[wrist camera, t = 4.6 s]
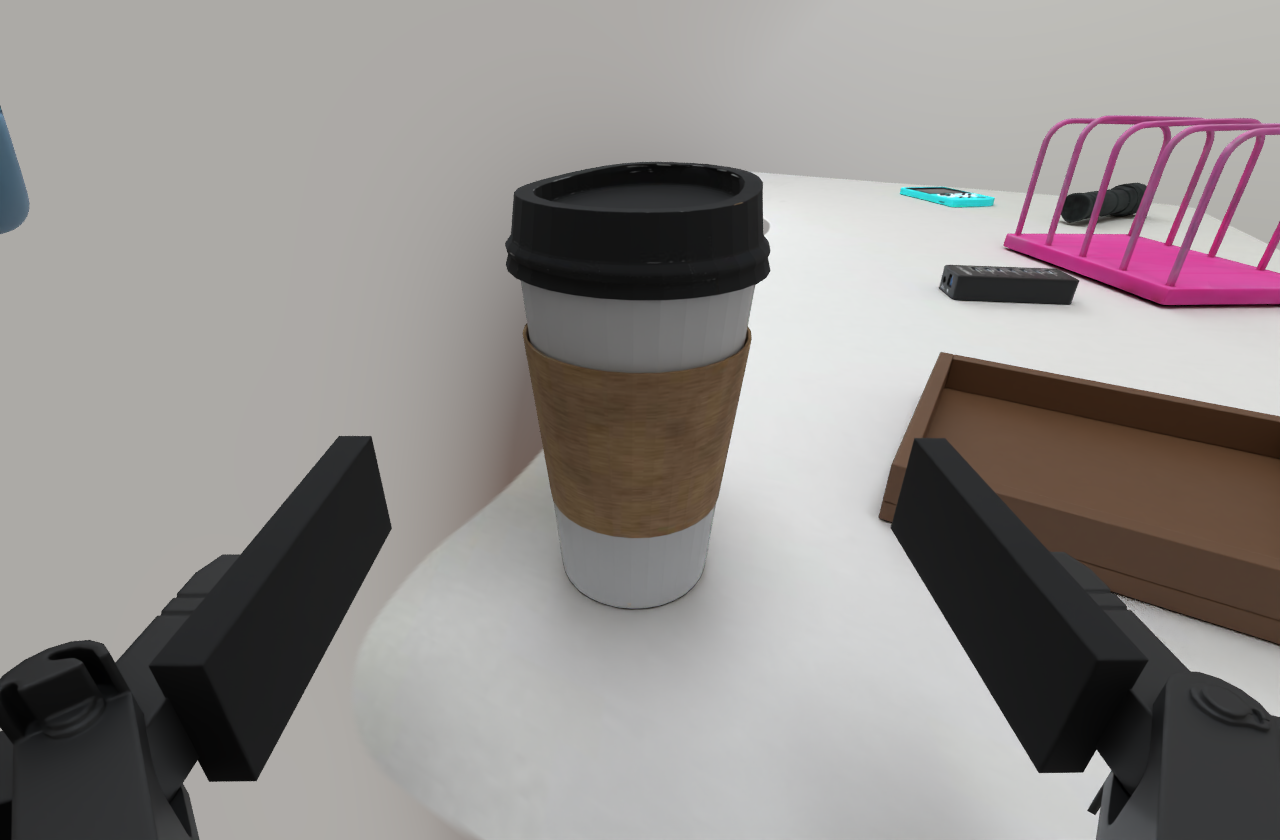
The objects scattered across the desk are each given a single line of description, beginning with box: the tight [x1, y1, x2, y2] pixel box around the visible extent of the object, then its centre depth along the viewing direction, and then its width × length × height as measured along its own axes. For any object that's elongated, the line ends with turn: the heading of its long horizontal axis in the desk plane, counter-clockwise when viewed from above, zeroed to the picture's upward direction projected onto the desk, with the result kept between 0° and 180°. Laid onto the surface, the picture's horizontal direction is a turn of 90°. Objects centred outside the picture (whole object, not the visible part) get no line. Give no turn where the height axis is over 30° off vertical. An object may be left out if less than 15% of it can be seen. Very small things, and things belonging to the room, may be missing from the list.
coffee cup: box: [505, 162, 770, 609], centre depth 22 cm, size 8×8×15 cm
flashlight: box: [1061, 183, 1147, 223], centre depth 99 cm, size 5×21×5 cm, turn 123°
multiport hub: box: [939, 265, 1079, 304], centre depth 60 cm, size 4×11×2 cm, turn 85°
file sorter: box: [1004, 116, 1280, 305], centre depth 65 cm, size 17×25×16 cm
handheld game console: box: [900, 187, 995, 207], centre depth 115 cm, size 10×16×1 cm, turn 13°
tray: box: [879, 352, 1280, 644], centre depth 30 cm, size 18×16×3 cm
